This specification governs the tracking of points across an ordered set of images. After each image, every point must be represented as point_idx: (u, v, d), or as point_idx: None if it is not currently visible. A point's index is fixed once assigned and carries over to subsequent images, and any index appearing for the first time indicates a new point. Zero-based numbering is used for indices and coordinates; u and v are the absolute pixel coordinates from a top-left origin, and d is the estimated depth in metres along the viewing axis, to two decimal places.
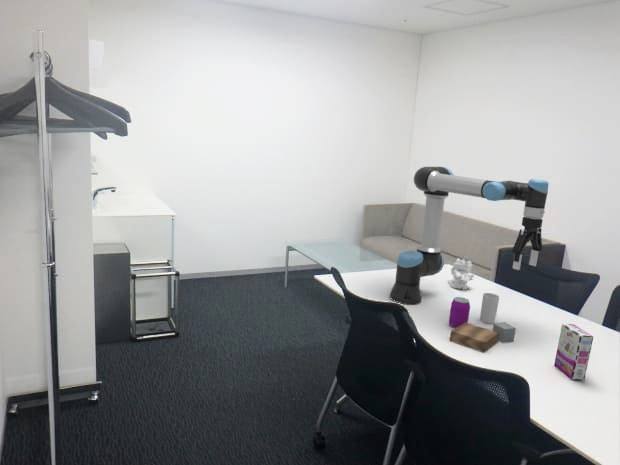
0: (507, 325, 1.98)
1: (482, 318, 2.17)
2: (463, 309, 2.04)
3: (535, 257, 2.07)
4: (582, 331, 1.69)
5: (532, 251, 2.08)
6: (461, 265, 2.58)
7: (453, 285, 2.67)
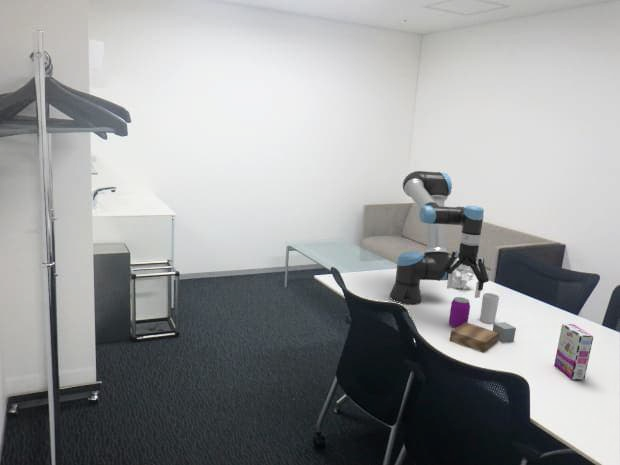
0: (507, 325, 1.98)
1: (482, 318, 2.17)
2: (463, 309, 2.04)
3: None
4: (582, 331, 1.69)
5: None
6: (461, 265, 2.59)
7: (453, 285, 2.67)
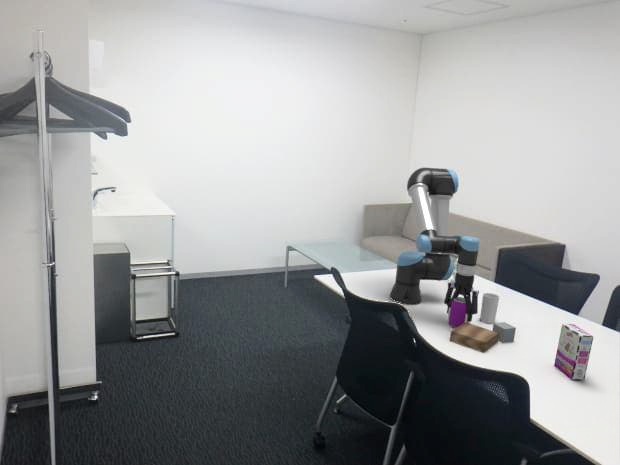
0: (507, 325, 1.98)
1: (482, 318, 2.17)
2: (463, 309, 2.04)
3: None
4: (582, 331, 1.69)
5: None
6: None
7: None
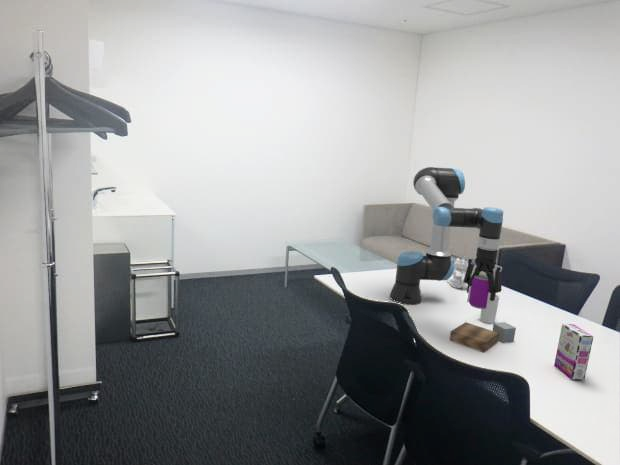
0: (507, 325, 1.98)
1: (482, 318, 2.17)
2: (485, 287, 1.86)
3: None
4: (582, 331, 1.69)
5: None
6: (461, 265, 2.59)
7: (453, 285, 2.68)
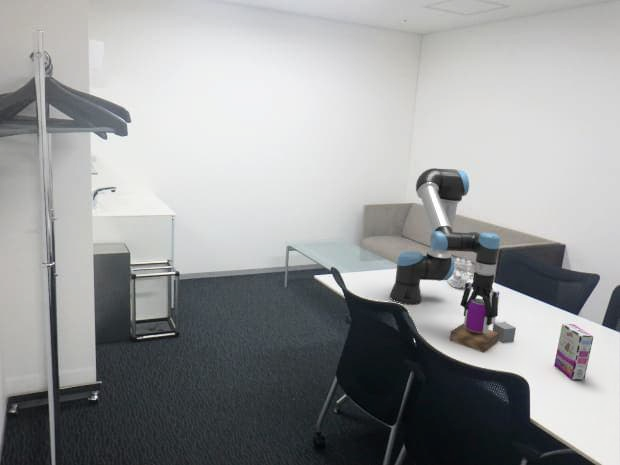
0: (507, 325, 1.98)
1: None
2: (482, 312, 1.88)
3: None
4: (582, 331, 1.69)
5: None
6: (461, 264, 2.60)
7: (453, 284, 2.68)
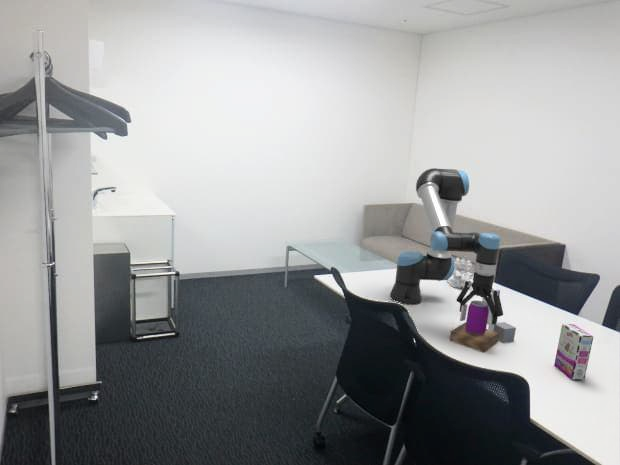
0: (507, 325, 1.98)
1: None
2: (482, 314, 1.89)
3: None
4: (582, 331, 1.69)
5: None
6: (461, 264, 2.60)
7: (453, 284, 2.68)
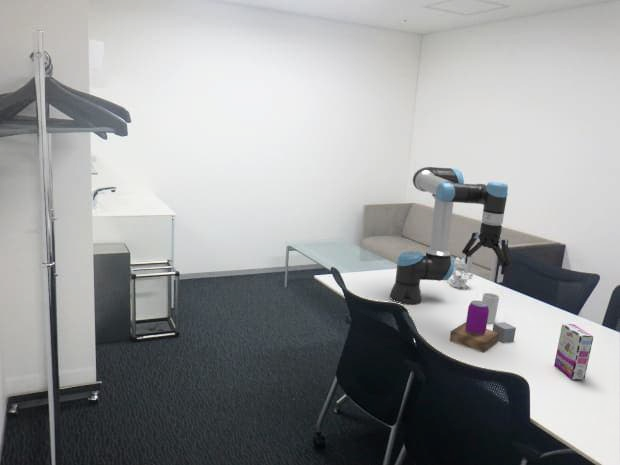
0: (507, 325, 1.98)
1: None
2: (482, 314, 1.89)
3: None
4: (582, 331, 1.69)
5: None
6: (461, 264, 2.60)
7: (452, 284, 2.68)
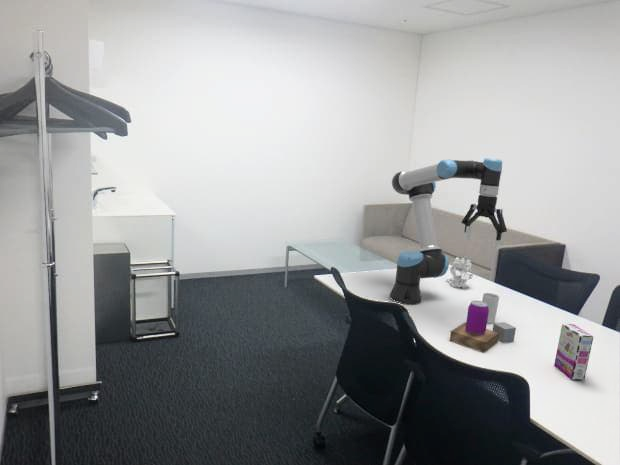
0: (507, 325, 1.98)
1: None
2: (482, 314, 1.89)
3: None
4: (582, 331, 1.69)
5: None
6: (461, 264, 2.61)
7: (452, 284, 2.69)
